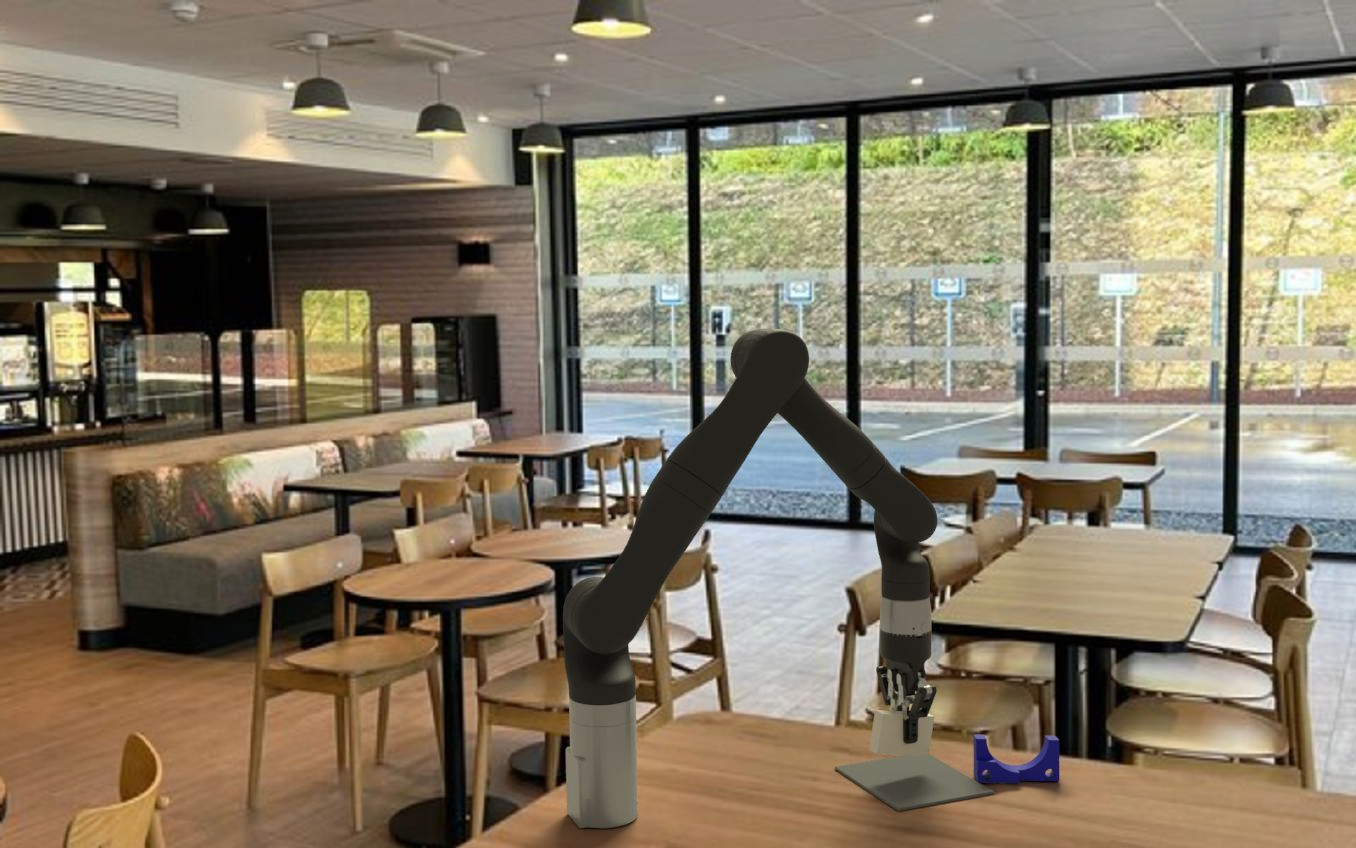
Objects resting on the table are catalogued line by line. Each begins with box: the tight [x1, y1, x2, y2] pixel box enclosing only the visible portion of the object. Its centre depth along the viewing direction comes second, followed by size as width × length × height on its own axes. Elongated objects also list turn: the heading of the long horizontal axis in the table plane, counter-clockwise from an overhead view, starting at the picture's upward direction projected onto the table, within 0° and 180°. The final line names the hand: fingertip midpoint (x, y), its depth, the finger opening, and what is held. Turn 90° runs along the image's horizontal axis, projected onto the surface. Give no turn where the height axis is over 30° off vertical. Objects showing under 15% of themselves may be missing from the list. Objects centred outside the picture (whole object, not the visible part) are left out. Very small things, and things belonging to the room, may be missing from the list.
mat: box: [834, 753, 995, 812], centre depth 195 cm, size 16×18×1 cm
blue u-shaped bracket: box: [973, 733, 1060, 784], centre depth 195 cm, size 12×4×6 cm, turn 85°
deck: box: [868, 709, 935, 756], centre depth 196 cm, size 9×2×6 cm, turn 112°
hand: (905, 739), depth 197 cm, fingers closed on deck, 2 cm apart
